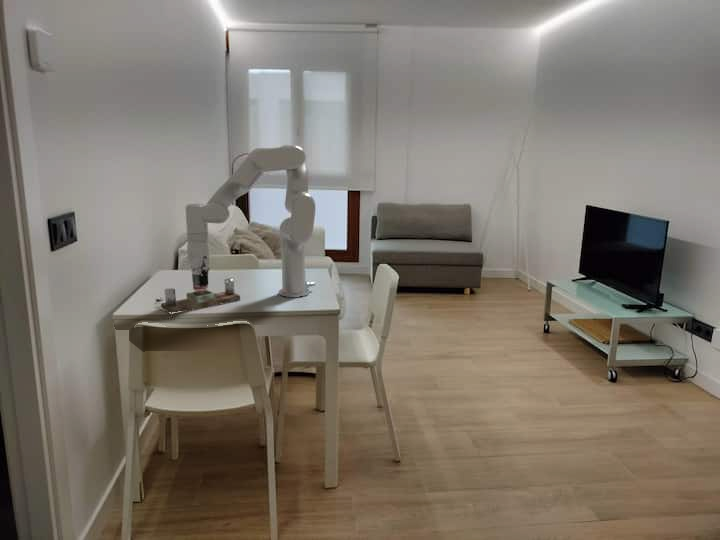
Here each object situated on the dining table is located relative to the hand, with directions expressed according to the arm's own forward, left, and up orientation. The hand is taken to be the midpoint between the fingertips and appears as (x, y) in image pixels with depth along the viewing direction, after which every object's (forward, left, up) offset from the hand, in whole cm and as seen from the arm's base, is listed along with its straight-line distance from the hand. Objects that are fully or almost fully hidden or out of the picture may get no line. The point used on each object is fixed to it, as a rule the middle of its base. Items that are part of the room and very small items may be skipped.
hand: (200, 283), depth 204 cm
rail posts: (0, 0, -6) cm, 6 cm away
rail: (0, 0, -8) cm, 8 cm away
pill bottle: (0, 0, -3) cm, 3 cm away
